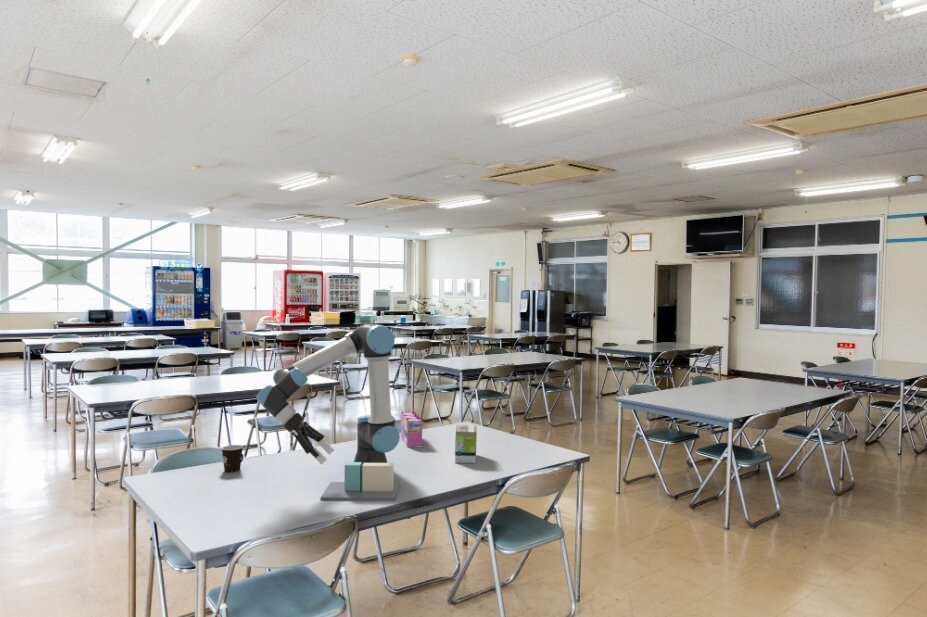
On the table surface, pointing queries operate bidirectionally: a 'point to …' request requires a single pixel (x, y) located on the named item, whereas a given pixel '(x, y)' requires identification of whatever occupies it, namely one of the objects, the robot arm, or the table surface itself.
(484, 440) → the table surface
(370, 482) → the ticket stand
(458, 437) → the tea box
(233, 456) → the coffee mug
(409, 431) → the pink drink carton pack
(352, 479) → the stub
